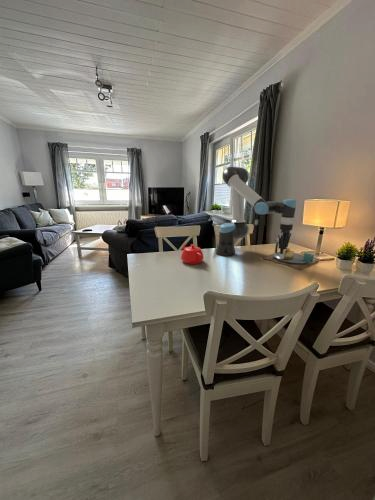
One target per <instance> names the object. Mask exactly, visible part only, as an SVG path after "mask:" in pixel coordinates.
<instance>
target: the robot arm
mask: <svg viewBox="0 0 375 500" xmlns="http://www.w3.org/2000/svg"><path fill="white" fill-rule="evenodd" d="M249 178H250V173H249V171H248V169H247V168H244V167H240V166H239V167H238V166H237V167H236V166H228V167H226V168H225V169H224V170H223V172H222V180H223V182H224V183H225V185H227V186H228V187H229V188H231V189H232V220H231V221H230V222H225V223H222V224H220V225H219V233H218V244H217V247H216V249H215V254H216V255H218V256H221V257H233V256H234V257H235V256H236V248H235V240H237V239H242V238H243V239H244V238H245V237H246V236H248V234H249V230H250V229H249V225H248V224H247V221H246V220H245V200H246V201H247V202H248V203H249V204H250V205H251V206H252V207H253V208H254V212H255V214H256V215H266V214H267V215H269V214H278V215H279V214H280V215H281V218H280V223H279V224H280V225H279V229H280V230H281V231H280V234H278V236H277V237H278V239H279V242H278V249H280V250H279V252H280V255H279V258H282V259H283V258H284V255H285V249H287V248H289V243H290V240H291V239H290V238H291V236H292V233H291V231H292V230H293V227H294V225H293V224H294V221H295V214H296V209H297V200H296V199H289V198H287V199H284V200H283V201H273V200H272V201H266V200H265V199H264V198H262V196H260V194H258V192H255V190H254V189H252V187H250V186H249V185H248V184H247V183H248V181H249V180H250V179H249Z"/></svg>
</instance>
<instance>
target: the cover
mask: <svg viewBox="0 0 375 500" xmlns="http://www.w3.org/2000/svg"><path fill="white" fill-rule="evenodd" d="M286 248H287V249H285V255H284V258H283V259H284V260H293V257H294V253H295V251H293V250H291V248H290V247H286ZM281 259H282V258H281Z"/></svg>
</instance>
